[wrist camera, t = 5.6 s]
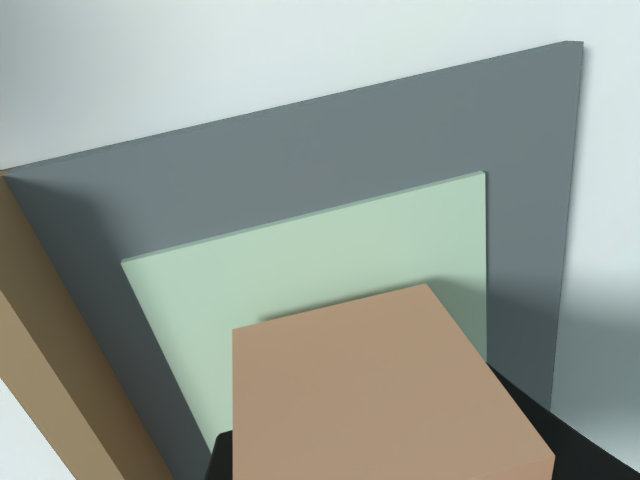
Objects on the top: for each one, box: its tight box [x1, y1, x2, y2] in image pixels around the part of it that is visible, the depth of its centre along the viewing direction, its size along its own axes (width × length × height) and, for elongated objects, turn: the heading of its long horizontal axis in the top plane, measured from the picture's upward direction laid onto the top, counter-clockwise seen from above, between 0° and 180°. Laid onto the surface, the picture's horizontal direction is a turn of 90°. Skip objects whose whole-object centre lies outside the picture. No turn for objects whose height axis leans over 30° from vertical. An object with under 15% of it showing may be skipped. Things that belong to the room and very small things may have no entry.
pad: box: [120, 171, 487, 454], centre depth 13 cm, size 9×9×1 cm
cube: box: [232, 283, 555, 480], centre depth 10 cm, size 5×5×5 cm
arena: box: [0, 41, 584, 480], centre depth 12 cm, size 16×14×2 cm
